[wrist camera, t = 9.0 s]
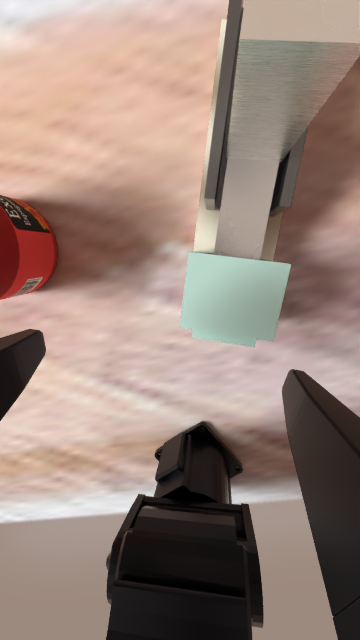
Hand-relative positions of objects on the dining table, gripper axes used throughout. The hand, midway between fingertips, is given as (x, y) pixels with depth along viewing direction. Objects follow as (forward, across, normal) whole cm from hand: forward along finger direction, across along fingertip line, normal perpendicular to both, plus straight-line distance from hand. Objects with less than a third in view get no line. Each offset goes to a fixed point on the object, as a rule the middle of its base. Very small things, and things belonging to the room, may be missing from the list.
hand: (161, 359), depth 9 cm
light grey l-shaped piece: (+11, -3, -3) cm, 12 cm away
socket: (+12, -3, +1) cm, 12 cm away
